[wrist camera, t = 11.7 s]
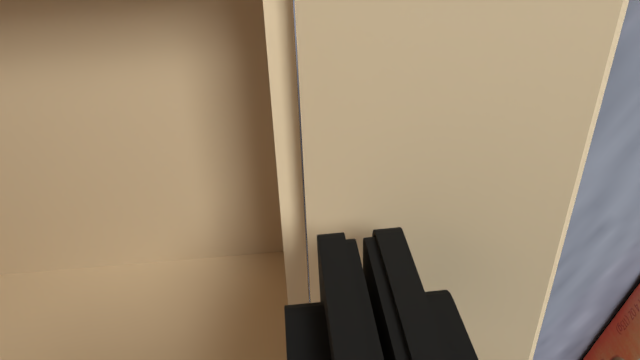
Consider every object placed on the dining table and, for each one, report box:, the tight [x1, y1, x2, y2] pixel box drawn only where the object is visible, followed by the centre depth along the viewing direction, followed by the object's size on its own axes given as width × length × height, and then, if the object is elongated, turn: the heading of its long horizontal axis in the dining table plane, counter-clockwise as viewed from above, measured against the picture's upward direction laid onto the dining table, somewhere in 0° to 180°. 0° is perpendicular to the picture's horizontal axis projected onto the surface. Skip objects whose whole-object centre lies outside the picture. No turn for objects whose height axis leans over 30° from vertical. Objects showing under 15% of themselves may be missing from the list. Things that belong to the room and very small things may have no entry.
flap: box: [295, 0, 629, 360], centre depth 12 cm, size 14×6×1 cm
